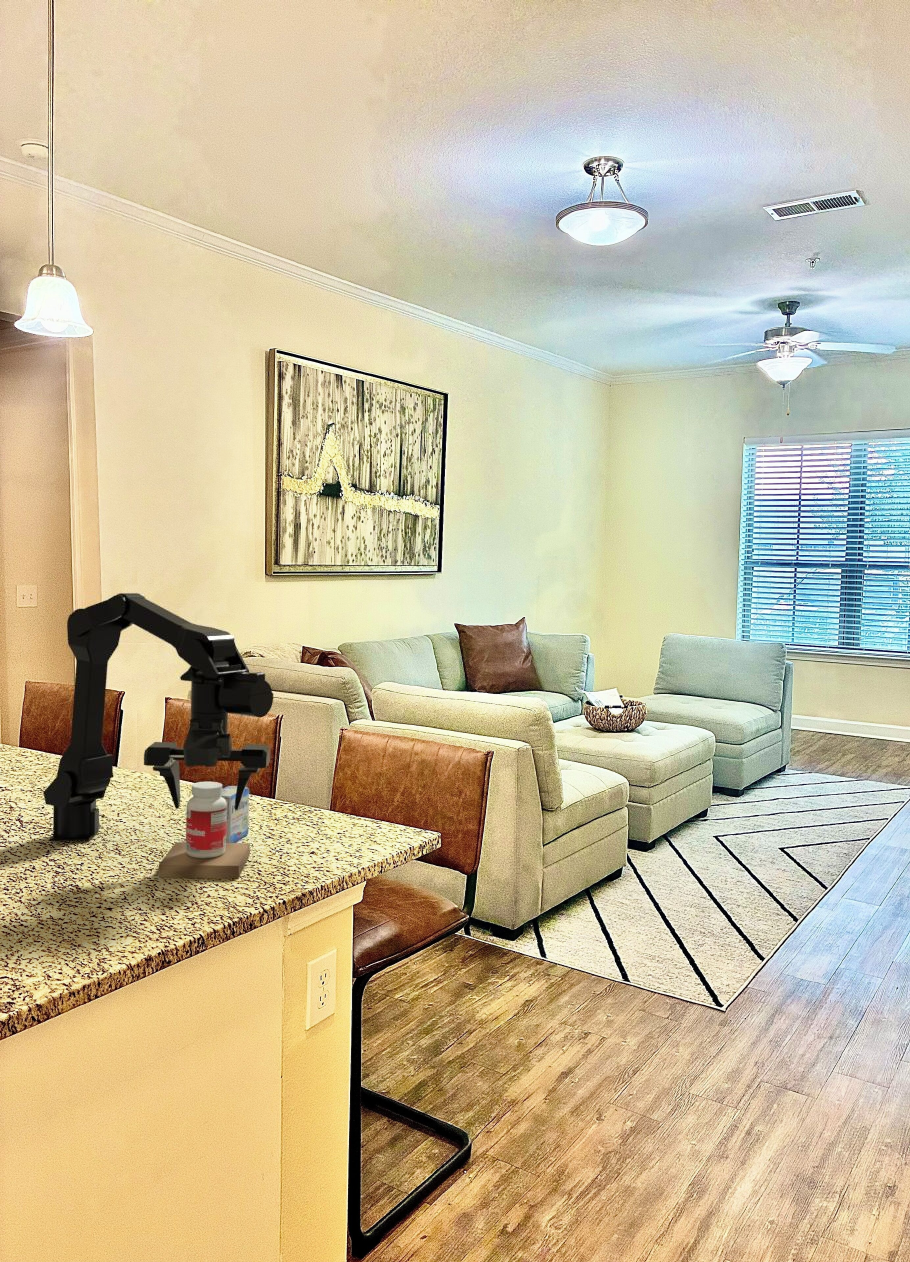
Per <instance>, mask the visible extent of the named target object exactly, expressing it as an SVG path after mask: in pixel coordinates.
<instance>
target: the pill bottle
mask: <svg viewBox="0 0 910 1262" xmlns="http://www.w3.org/2000/svg"><path fill="white" fill-rule="evenodd" d="M222 789H223V784H222V783H220V782H217V781H198V782H195V783H193V784H192V785H191V795H192V797H191V798H190V799H188V801H187V802H186V813H185V814H186V816H185V817H186V818H185V820H186V821H185V842H186V853H187V855H189V856H191V857H194V858H213V857H218V856H220V855H222V854H224V852H225V850H226V815H227V803H226V800H225V799H224V798H222V797H221V794H222Z"/></svg>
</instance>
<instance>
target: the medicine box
mask: <svg viewBox="0 0 910 1262" xmlns="http://www.w3.org/2000/svg"><path fill="white" fill-rule="evenodd" d="M236 791H237V785H227V786H225V787H222V794H221V797H222V798H224V799H225V800H226V803H227V815H226V843H238V841H240V840H241V839H243V838H245V837H246V836H247V835H249V817H250V816H249V815H250V813H249V812H250V811H249V809H250V807H249V806H250V788H249V787H247V786H246V788H245V791H244V794H243V797H242V800H241V802H240V805H239V808H238V810H235V797H236Z"/></svg>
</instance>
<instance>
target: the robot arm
mask: <svg viewBox="0 0 910 1262" xmlns="http://www.w3.org/2000/svg"><path fill="white" fill-rule="evenodd" d="M132 625H135V626H137V627H138V628H140V629H142V630H143V631H145V632H147V633H149V634H151V635H153V636H154V637H156V638H158V639H160V640H162V641H164V642H166V643H167V644H169V645H171V646H172V647H173V648H174V649H175V650H176V652H177V655H178V656H179V658H180V659H181V660H183V661H184V662H185V663H186V664H187V665H189V667H188V669H187V670H186V671H185V672H183V674H182V675H180V676H179V680H180V681H184V682H190V684H191V685H190V689H191V690H190V719H189V729H188V731H187V734H186V738H185V740H184V742H183V745H182V746H183V747H180V748H179V747H178V743H177V742H175V741H173V742H171V741H170V742H169V741H167V742H166V741H154V742H153V743H152V744H151V745H149V746H148V747H147V748H145V749H144V754H143V765H144V766H146V767H150V766H152V770H153V771H154V772H159V773H160V775H161V776H162V777H163V779H164V780H165V783H166V785H167V787H168V790H169V793H170V796H171V800H172V802H173V805H174V808H175V809H176V810H178V809H179V808H180V805H181V783H180V782H181V780H180V777H181V776H180V761H184V762H183V763H184V764H183V765H184V766H186V767H191V768H193V767H195V766H196V767H197V766H200V767H201V766H203V767H206V768H213V767H215V766H216V765H217V764H218V762H240V764H241V766H240V768H239V769H238V772H237V773H238V775H237V777H238V778H237V784H236V786H237V791H236V797H235V810H238V808H239V805H240V802H241V800H242V797H243V794H244V791H245V788H246V787H247V785H248V782H249V781H250V778H251V776H252V775H253V774H257V773H259V771H260V769H266V768H267V766H269V763H270V762H271V747H269V746H268V745H267V744H263V743H261V744H257V743H256V744H253V743H251V744H250V743H248V744H247V743H246V744H244V746H243V747H242V748H241V749H233V746H232V744H233V741H232V735H231V733H229V732H228V731H229V730H228V728H229V726H228V724H229V715H230V714H231V715H239V716H246V717H252V718H253V717H254V718H263V717H265V716H267V714H268V713H269V712H270V711H271V709H272V706H273V703H274V692H273V690H272V687H271V685H270V684H269V682H268V681H267V680H266V673H265V672H261V671H260V672H257V671H256V672H250V669H249V668H248V666H247V664H246V662H245V660H244V659H243V656H242V655H241V653H240V652H239V648H237V646H236V642H235V637H234V635H233V634H231V633H230V632H229V631H226V630H224V629H223V630H222V629H218V628H215V627H212V626H207V625H202V624H195V623H192V622H190V621H189V620H187V619H184V618H182V617H181V616H179V615H177V614H175V613H174V612H171V611H170V610H169V609H168V610H167V609H166V608H164V607H162V606H160V605H158V604H156V603H155V602H153V601H151V600H149V599H148V598H147V599H146V597H145V596H144V595H143V594H140V593H138V592H135V593H134V592H133V593H131V592H130V593H129V592H128V593H127V592H124V593H123V592H121V593H117V594H116V595H113V596H111V597H109V598H108V599H105V600H103V601H100V602H98V603H95V604H92V605H89V606H86V607H85V608H76V609H75V610H74V611H73V612H71V614H69V615H68V618H67V622H66V630H67V645H68V646H69V648H70V650H71V652H72V654H73V656H74V658H75V661H76V662H75V663H76V664H75V677H74V688H73V689H74V691H73V704H72V705H73V706H72V716H71V717H72V718H71V720H72V721H71V733H70V735H71V737H70V744H69V745H68V747H67V748H66V750H65V752H64V753H63V754H62V756H61V757H60V758H59V759H60V760H59V764H58V768H57V773H56V777H55V778H54V779H53V781H52V782H51V783H50V784H49V785H48V786H47V787H46V789H45V790H44V791H43V797H44V798H43V799H44V801H45V802H44V803H45V805H47V806H52V807H53V812H52V813H53V815H52V816H53V817H52V818H53V820H52V823H53V824H52V825H53V827H52V830H53V831H52V835H51V836H50V837H49V841H50V842H89V841H91V840H92V839H93V838H94V836H96V835H97V834H98V833H99V831H100V809H99V807H98V808H97V800H103V799H104V797H105V794H106V792H107V787H109V786H110V783H111V779H112V778H114V772H113V770H114V769H113V768H114V762H115V757H114V755H113V754H108V752H107V750H106V749H105V746H103V734H104V733H103V731H104V718H105V717H104V716H105V704H106V692H107V690H106V689H107V678H108V676H107V675H108V664H109V661H110V659H111V657H112V656H113V655H114V652H115V651H116V649H118V647H119V643H120V638H121V634H122V631H125V630H126V629H128V628H129V627H132Z"/></svg>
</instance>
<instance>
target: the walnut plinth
mask: <svg viewBox="0 0 910 1262" xmlns="http://www.w3.org/2000/svg"><path fill="white" fill-rule="evenodd" d="M250 848H251V843H248V842H247V843H246V842H236V843H226V850H225V852H224V854H222V855H220V856H218V857H213V858H194V857H191V856H189V855H187V853H186V841H185V842H183V841H182V842H181V841H176V842H175V843H173V845H172V846H171V848H170V849H169V851H168V852H167V853H166V855H165V856H164V857H163V859H162V860H161V861H160V862H159V864H158V878H159V879H161V878H162V879H167V878H169V879H170V878H171V879H228V880H229V879H230V880H231V879H232V880H233V879H239V878H240V877H241V875H242V872H243V870H244V868H245V865H246V863H247V861H248V859H249V857H250V852H251V851H250V850H251V849H250Z"/></svg>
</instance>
